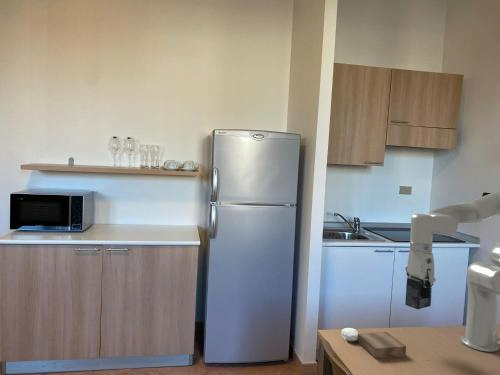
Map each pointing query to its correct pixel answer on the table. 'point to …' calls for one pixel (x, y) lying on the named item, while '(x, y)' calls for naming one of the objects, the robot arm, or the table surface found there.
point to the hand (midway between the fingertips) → (418, 294)
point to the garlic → (349, 334)
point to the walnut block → (381, 345)
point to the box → (416, 294)
